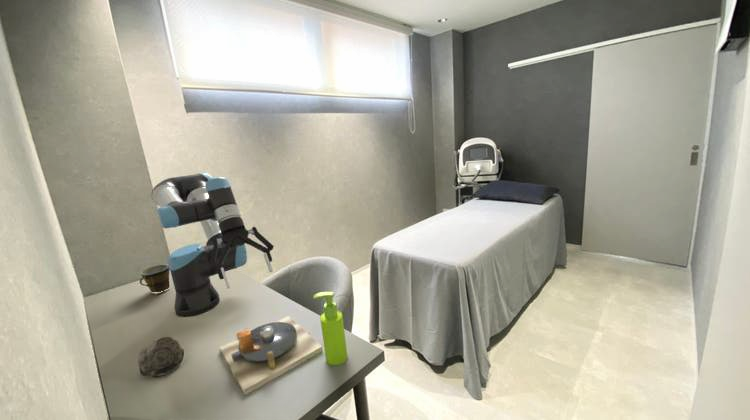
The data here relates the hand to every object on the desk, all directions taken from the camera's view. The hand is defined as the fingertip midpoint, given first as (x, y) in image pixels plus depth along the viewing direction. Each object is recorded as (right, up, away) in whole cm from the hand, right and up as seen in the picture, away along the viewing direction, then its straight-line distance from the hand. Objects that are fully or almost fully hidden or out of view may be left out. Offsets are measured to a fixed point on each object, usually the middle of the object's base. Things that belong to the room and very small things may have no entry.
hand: (250, 279), depth 103 cm
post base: (+10, -19, -10) cm, 23 cm away
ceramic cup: (-52, -13, +33) cm, 63 cm away
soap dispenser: (+29, -19, -15) cm, 38 cm away
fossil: (-19, -22, -13) cm, 32 cm away
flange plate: (+9, -16, -11) cm, 22 cm away
